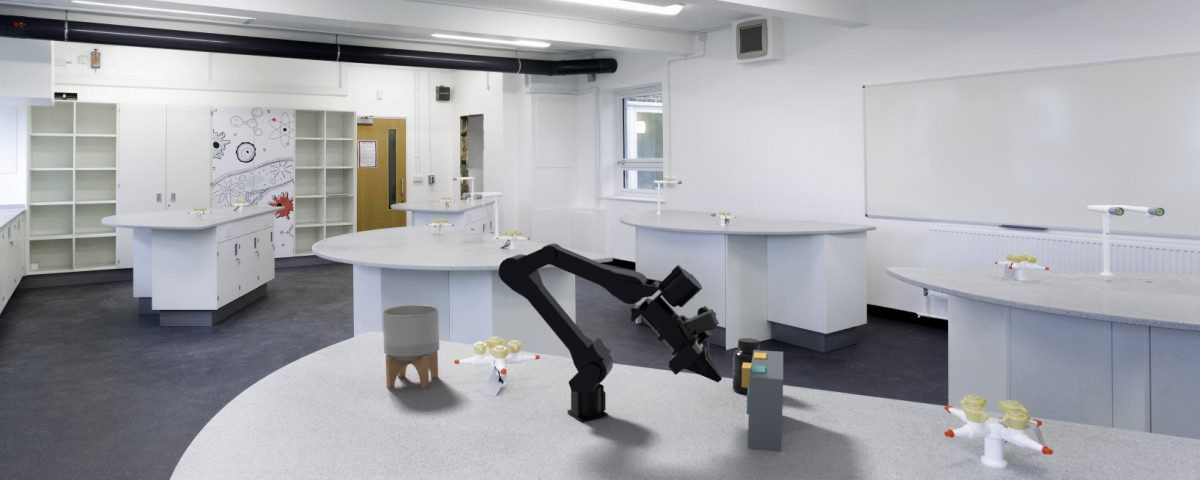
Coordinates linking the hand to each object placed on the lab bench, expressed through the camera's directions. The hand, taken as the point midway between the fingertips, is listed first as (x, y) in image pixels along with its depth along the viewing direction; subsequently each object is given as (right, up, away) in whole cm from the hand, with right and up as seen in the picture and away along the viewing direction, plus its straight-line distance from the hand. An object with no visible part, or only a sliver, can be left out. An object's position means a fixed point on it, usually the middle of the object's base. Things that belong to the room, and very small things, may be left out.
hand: (720, 380), depth 141 cm
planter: (-69, -7, +31) cm, 77 cm away
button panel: (+8, -10, -1) cm, 13 cm away
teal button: (+6, -5, -6) cm, 10 cm away
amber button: (+7, -2, +4) cm, 8 cm away
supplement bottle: (+10, -7, +24) cm, 27 cm away
